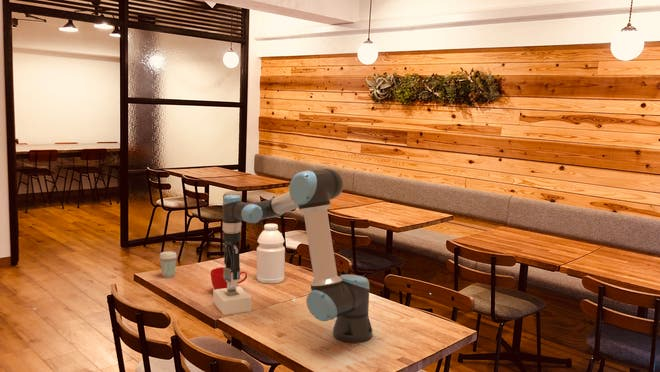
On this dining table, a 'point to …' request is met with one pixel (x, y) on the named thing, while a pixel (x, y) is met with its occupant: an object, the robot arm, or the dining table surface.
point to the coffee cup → (168, 263)
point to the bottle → (270, 255)
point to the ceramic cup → (221, 278)
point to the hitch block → (232, 301)
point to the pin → (229, 278)
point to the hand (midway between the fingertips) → (231, 283)
